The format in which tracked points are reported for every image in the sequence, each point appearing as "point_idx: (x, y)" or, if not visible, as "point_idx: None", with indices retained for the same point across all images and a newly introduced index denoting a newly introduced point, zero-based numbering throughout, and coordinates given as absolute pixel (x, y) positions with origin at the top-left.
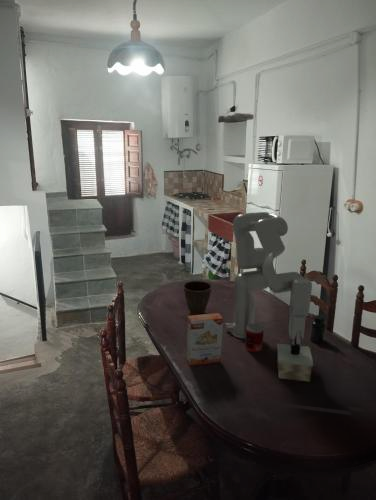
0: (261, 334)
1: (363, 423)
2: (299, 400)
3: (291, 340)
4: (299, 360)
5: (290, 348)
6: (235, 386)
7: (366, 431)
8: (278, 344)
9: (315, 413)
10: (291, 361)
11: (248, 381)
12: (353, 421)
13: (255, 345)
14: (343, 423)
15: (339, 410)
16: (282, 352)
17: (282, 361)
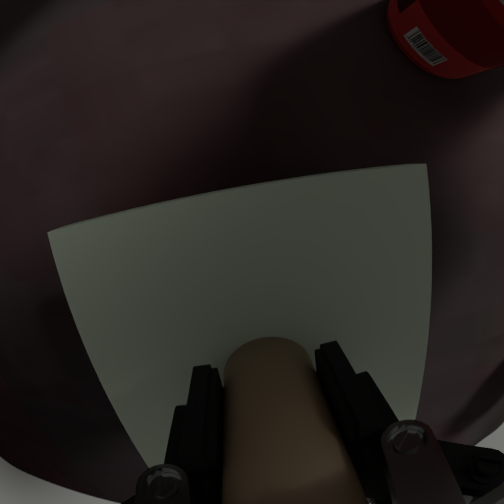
0: (501, 28)
1: (67, 480)
2: (34, 332)
3: (360, 421)
4: (145, 416)
5: (358, 324)
6: (25, 26)
7: (45, 476)
8: (410, 179)
9: (11, 381)
10: (89, 355)
11: (70, 55)
12: (56, 465)
13: (419, 14)
14: (30, 442)
15: (75, 449)
16: (229, 248)
17: (65, 267)
